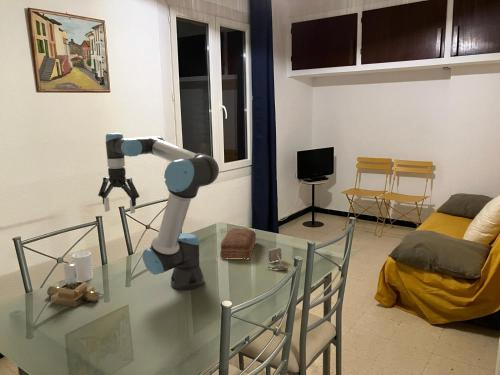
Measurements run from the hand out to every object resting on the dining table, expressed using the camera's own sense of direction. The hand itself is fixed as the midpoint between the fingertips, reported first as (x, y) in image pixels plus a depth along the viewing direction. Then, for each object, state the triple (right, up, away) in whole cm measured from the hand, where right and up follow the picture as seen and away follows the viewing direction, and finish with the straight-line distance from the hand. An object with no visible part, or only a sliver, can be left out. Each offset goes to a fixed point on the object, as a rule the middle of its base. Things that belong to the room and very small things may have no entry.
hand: (119, 212), depth 180 cm
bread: (+55, -25, +38) cm, 71 cm away
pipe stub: (-14, -33, -17) cm, 39 cm away
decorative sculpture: (+74, -29, +16) cm, 81 cm away
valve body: (-14, -36, -16) cm, 42 cm away
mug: (-20, -32, +2) cm, 38 cm away
